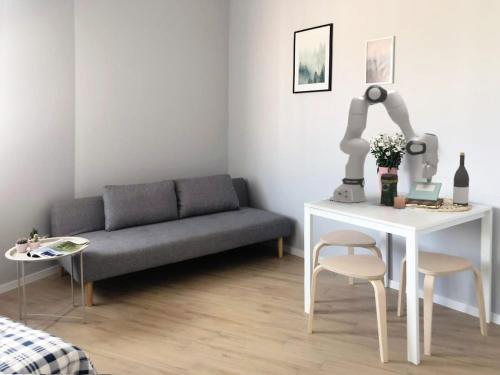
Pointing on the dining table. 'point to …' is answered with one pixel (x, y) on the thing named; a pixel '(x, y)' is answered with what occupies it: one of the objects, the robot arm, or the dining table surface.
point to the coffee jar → (388, 188)
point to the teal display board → (424, 191)
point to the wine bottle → (461, 184)
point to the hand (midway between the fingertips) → (429, 184)
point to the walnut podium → (425, 202)
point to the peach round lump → (399, 202)
